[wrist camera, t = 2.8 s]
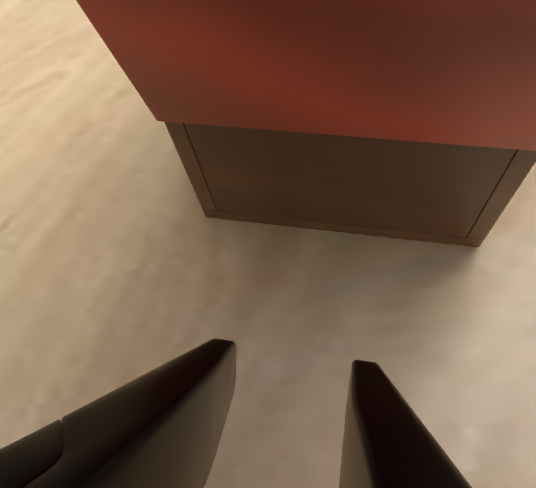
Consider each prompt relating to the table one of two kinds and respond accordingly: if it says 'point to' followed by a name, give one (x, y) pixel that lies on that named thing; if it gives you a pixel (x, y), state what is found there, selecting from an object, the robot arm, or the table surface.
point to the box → (350, 181)
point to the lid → (334, 65)
